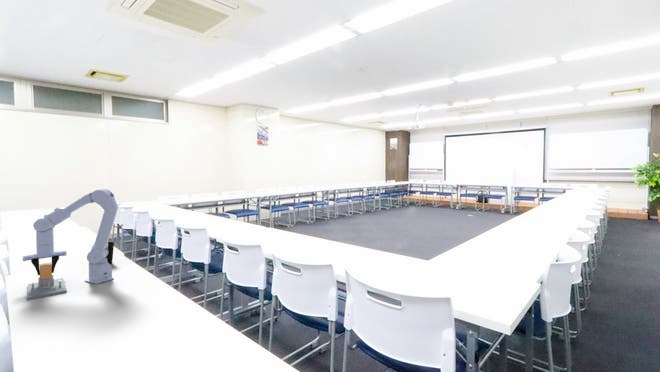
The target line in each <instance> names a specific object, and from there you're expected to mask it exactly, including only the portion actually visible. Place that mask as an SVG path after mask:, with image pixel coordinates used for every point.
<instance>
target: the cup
mask: <svg viewBox="0 0 660 372" xmlns="http://www.w3.org/2000/svg"><path fill="white" fill-rule="evenodd" d="M114 248H115V242H114V241H108V255H107V256H106V258H107V262H108V263H109V264H110V265H113V258H114Z"/></svg>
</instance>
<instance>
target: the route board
mask: <svg viewBox="0 0 660 372" xmlns="http://www.w3.org/2000/svg"><path fill="white" fill-rule="evenodd" d="M59 280H61V286H60V287H59ZM67 292H68V291H67V288H66V284H65V280H64V278H63V277H60V278H56V279H55V278H54V284H51V285H50V288H49V289H48V285H46V287H44V286H40V287H39V281H38V282H34V289H32V283H28V284H27V300H28V299H31V300H35V299H34V298H36V299H40V298H39V297H41V298H46V297H50V296H56V295H61V294H66V293H67Z"/></svg>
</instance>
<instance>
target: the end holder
mask: <svg viewBox="0 0 660 372" xmlns="http://www.w3.org/2000/svg"><path fill="white" fill-rule="evenodd" d="M44 280H45V281H46V285H48V282H50V285H51V284H54V280H55V278H54V275H53V274H52V277H50V278H44V279H40V276H38V282H39V287H40V286H43V281H44Z"/></svg>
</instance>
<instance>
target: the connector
mask: <svg viewBox="0 0 660 372" xmlns="http://www.w3.org/2000/svg"><path fill="white" fill-rule="evenodd" d="M39 270H40V275H39V277H40V279H44V278H50V277H52V275H53V273H52V261H51V262H45V263H39Z"/></svg>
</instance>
